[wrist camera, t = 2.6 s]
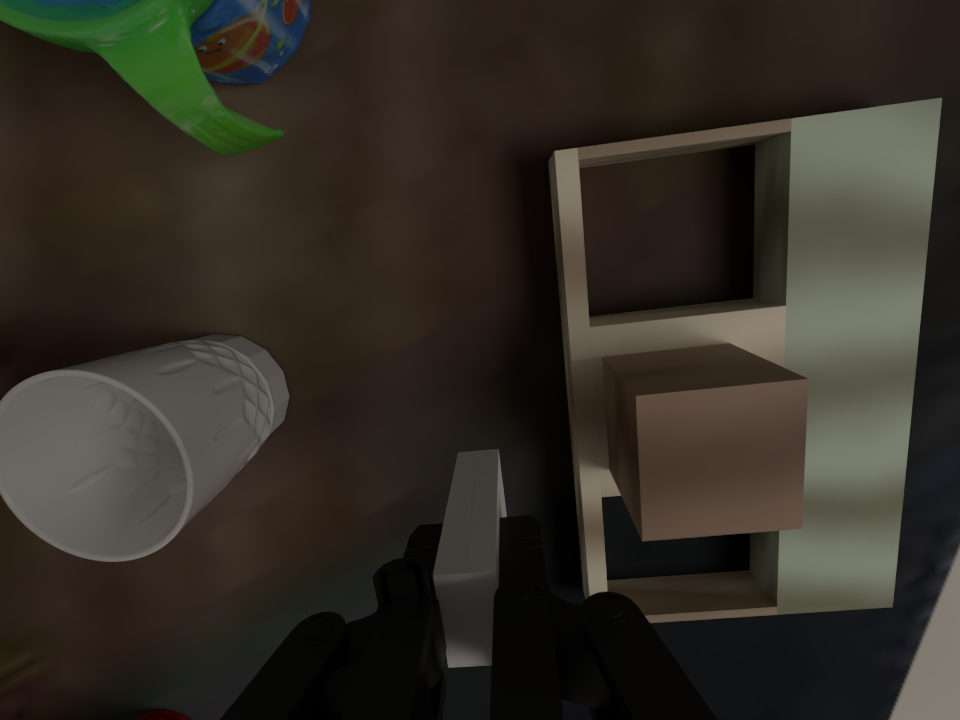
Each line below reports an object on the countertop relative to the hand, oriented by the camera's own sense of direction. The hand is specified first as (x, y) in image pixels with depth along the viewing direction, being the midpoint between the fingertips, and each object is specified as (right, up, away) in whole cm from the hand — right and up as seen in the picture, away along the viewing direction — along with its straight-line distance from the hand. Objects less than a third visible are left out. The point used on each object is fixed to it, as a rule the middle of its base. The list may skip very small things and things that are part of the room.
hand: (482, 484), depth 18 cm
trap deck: (+13, +3, +9) cm, 16 cm away
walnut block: (+9, +2, +6) cm, 11 cm away
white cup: (-14, +3, +10) cm, 18 cm away
